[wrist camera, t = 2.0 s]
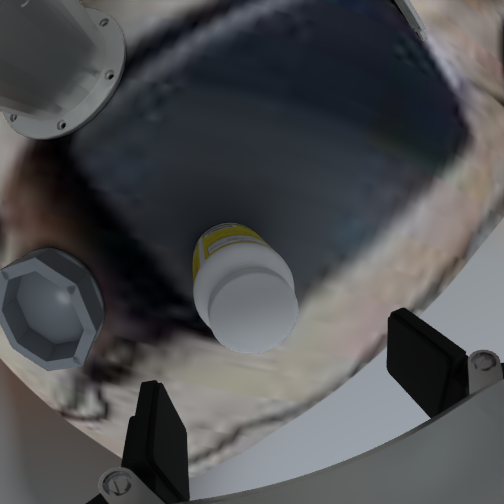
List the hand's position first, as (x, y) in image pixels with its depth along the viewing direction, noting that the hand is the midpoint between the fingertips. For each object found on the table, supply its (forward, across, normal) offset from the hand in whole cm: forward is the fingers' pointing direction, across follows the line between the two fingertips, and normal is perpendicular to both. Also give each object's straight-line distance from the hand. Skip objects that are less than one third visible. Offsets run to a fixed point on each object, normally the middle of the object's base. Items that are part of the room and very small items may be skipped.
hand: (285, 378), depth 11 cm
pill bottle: (+16, 0, -1) cm, 16 cm away
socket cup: (+16, +17, -1) cm, 23 cm away
